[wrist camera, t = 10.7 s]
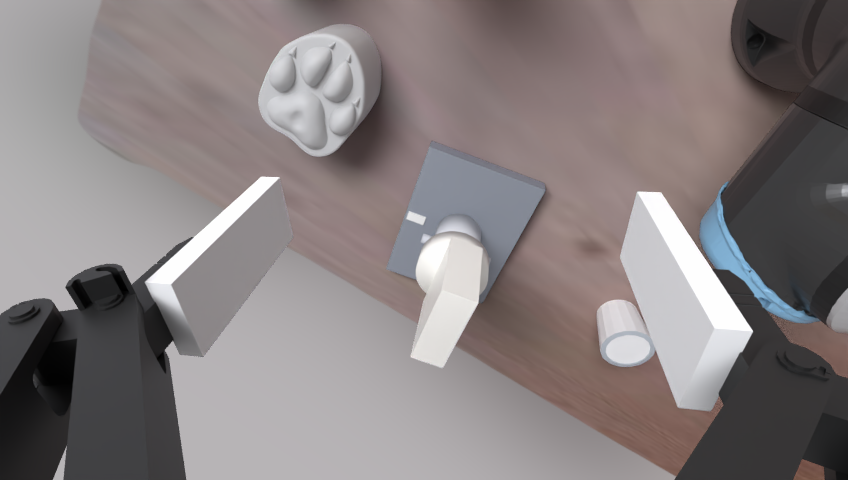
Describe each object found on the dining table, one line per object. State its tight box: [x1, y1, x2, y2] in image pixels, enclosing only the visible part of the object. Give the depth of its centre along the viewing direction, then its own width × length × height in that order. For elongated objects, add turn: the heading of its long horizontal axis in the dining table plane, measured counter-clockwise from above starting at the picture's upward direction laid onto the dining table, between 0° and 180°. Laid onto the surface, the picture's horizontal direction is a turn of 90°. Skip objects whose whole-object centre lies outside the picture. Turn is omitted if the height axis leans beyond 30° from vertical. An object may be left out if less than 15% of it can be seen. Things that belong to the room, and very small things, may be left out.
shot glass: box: [596, 300, 655, 367], centre depth 60 cm, size 7×7×7 cm
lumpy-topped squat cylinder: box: [258, 24, 382, 157], centre depth 47 cm, size 10×13×9 cm
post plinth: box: [386, 141, 546, 303], centre depth 56 cm, size 15×20×8 cm
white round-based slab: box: [410, 231, 489, 368], centre depth 48 cm, size 12×8×12 cm
